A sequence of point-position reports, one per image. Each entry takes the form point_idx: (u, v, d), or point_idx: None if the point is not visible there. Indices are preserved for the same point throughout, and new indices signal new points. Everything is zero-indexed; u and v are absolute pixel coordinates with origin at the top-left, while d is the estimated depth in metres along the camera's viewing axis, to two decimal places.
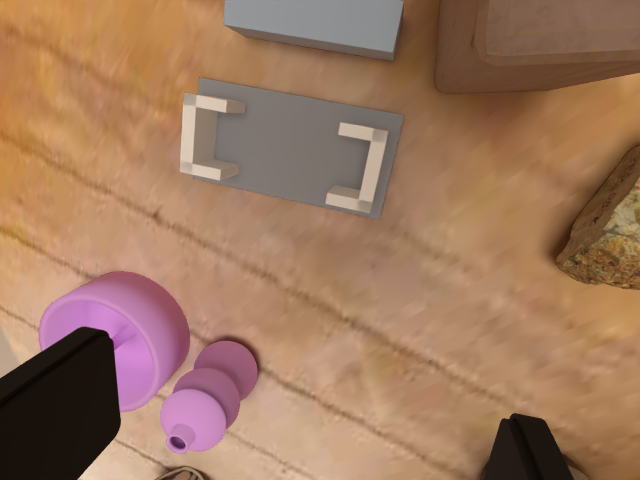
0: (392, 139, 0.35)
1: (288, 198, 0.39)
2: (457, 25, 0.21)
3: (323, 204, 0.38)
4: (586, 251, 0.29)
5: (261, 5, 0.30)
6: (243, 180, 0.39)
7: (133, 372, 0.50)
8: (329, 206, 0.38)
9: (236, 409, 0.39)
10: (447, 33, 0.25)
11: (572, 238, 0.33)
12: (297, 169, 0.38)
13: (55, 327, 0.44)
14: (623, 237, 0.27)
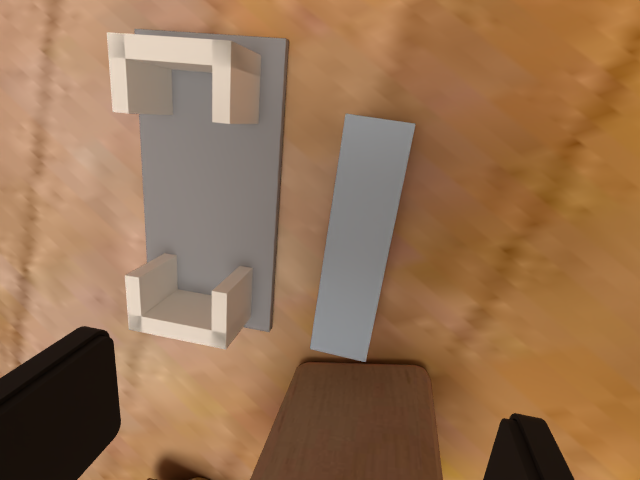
0: None
1: (144, 192, 0.27)
2: None
3: (149, 241, 0.29)
4: None
5: (370, 179, 0.20)
6: (152, 122, 0.26)
7: None
8: (149, 249, 0.29)
9: None
10: (316, 443, 0.21)
11: None
12: (185, 205, 0.27)
13: None
14: None
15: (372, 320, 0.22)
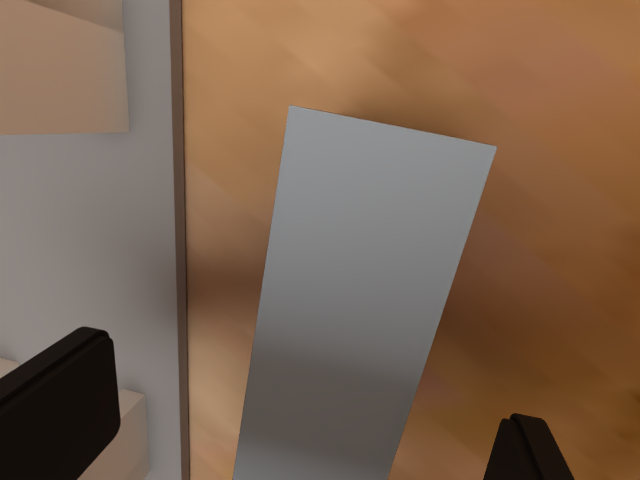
0: None
1: None
2: None
3: None
4: None
5: (353, 289, 0.07)
6: None
7: None
8: None
9: None
10: None
11: None
12: (20, 280, 0.15)
13: None
14: None
15: None
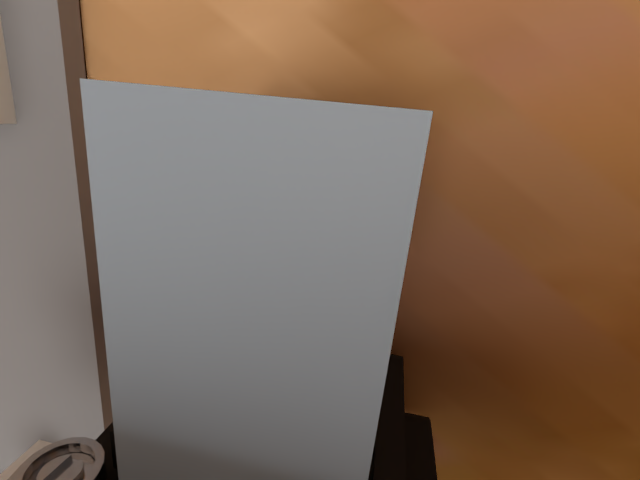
0: None
1: None
2: None
3: None
4: None
5: (239, 366, 0.05)
6: None
7: None
8: None
9: None
10: None
11: None
12: None
13: None
14: None
15: None
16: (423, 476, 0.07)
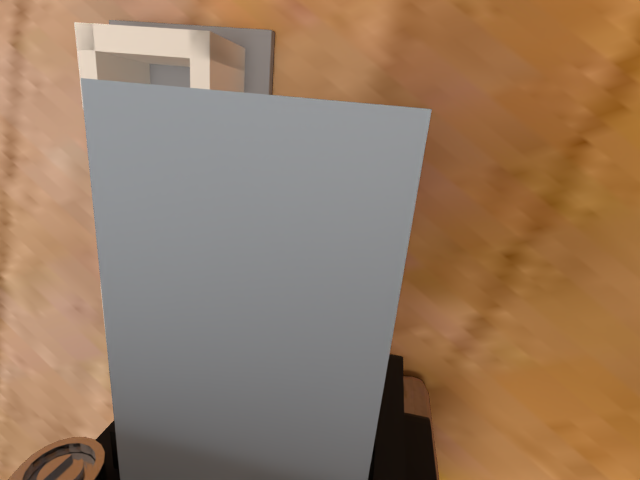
0: None
1: None
2: None
3: None
4: None
5: (240, 365, 0.05)
6: None
7: None
8: None
9: None
10: None
11: None
12: None
13: None
14: None
15: None
16: (423, 476, 0.07)
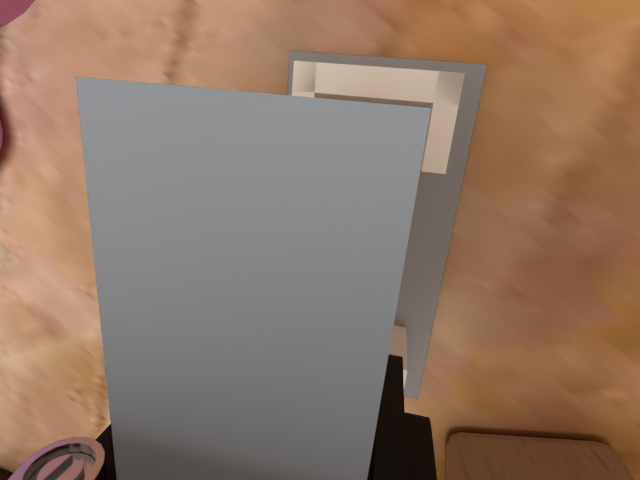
0: None
1: None
2: None
3: None
4: None
5: (238, 365, 0.04)
6: None
7: None
8: None
9: None
10: None
11: None
12: None
13: None
14: None
15: None
16: (423, 476, 0.07)
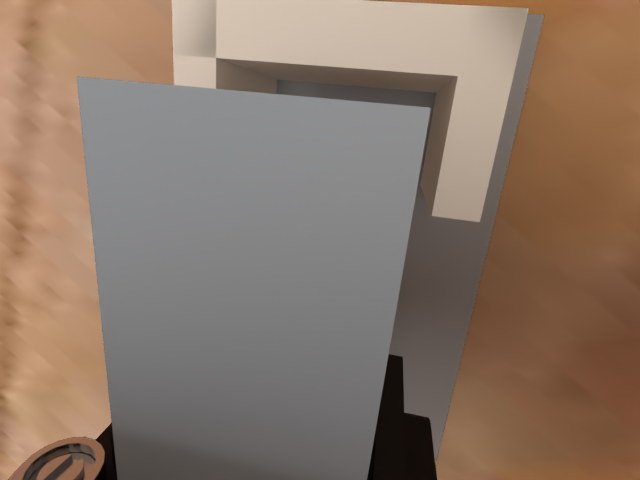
0: None
1: None
2: None
3: None
4: None
5: (238, 366, 0.05)
6: None
7: None
8: None
9: None
10: None
11: None
12: None
13: None
14: None
15: None
16: (423, 476, 0.07)
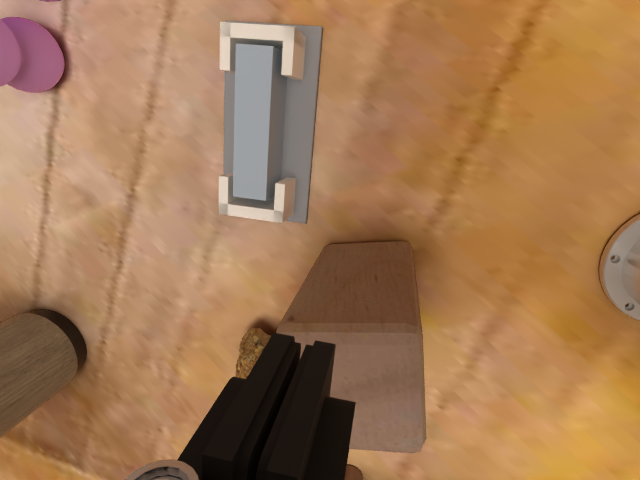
0: None
1: (224, 128, 0.42)
2: (327, 287, 0.31)
3: (226, 162, 0.43)
4: None
5: (253, 81, 0.35)
6: (233, 80, 0.40)
7: None
8: (225, 168, 0.43)
9: None
10: (341, 266, 0.36)
11: None
12: None
13: None
14: None
15: (266, 171, 0.37)
16: (334, 455, 0.07)
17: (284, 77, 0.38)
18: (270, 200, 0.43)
